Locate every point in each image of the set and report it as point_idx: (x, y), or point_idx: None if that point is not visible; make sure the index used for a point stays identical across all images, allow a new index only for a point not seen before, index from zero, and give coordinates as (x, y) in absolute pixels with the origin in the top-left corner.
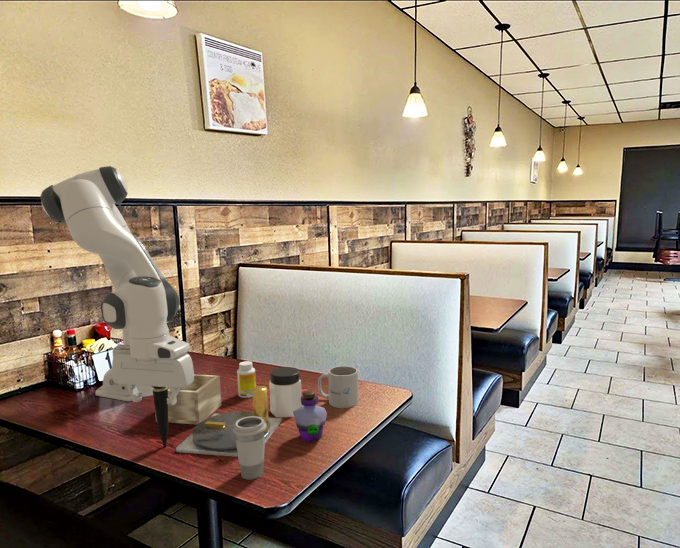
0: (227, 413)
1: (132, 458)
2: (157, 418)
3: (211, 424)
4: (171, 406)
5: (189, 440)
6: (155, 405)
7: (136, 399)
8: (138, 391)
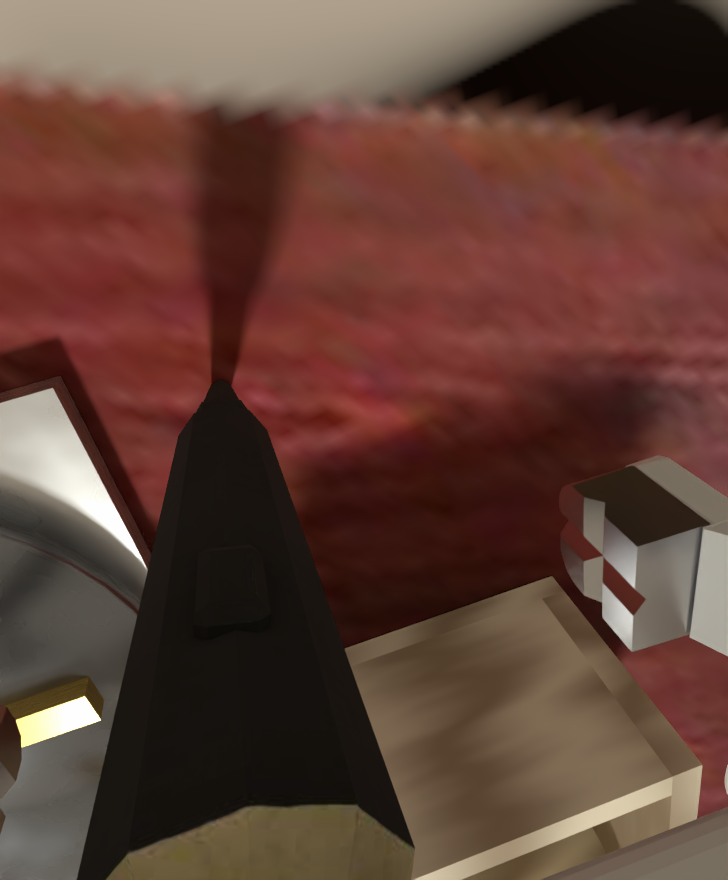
0: None
1: (300, 134)
2: (236, 470)
3: (29, 711)
4: (486, 702)
5: (71, 514)
6: (229, 562)
7: (606, 495)
8: (709, 646)
